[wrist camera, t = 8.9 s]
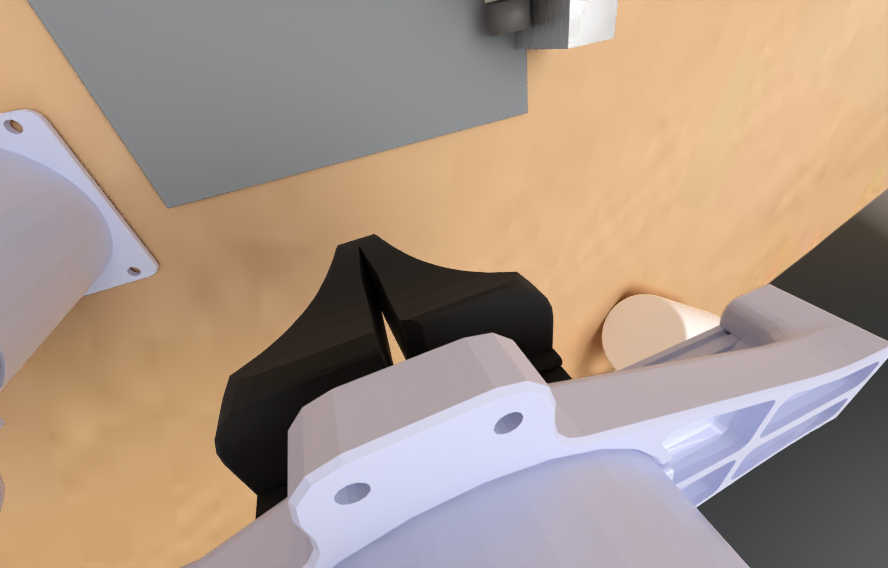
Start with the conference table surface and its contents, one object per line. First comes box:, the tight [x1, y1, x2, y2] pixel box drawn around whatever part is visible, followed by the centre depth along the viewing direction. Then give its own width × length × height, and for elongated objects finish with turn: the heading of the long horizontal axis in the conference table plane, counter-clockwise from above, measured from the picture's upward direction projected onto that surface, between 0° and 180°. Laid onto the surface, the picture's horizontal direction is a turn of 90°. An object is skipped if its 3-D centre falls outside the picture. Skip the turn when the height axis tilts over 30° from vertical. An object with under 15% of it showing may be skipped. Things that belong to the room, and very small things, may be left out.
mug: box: [602, 294, 721, 372], centre depth 35 cm, size 12×10×8 cm
